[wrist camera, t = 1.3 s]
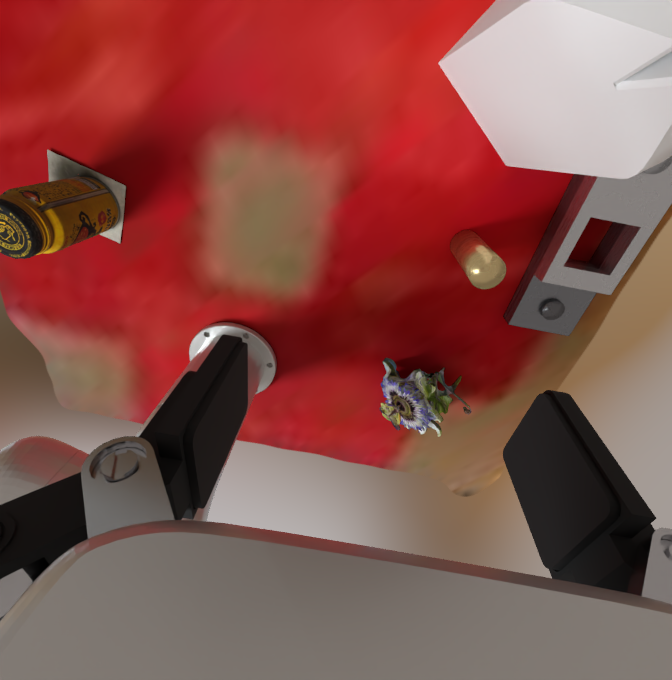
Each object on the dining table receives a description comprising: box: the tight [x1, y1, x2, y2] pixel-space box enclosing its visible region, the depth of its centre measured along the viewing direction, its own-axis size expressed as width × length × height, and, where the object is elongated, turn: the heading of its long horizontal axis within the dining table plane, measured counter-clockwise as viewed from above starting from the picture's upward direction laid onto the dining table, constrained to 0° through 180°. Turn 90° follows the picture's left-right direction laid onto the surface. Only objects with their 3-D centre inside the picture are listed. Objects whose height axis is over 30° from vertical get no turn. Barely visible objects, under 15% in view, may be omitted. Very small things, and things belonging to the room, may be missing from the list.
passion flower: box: [380, 358, 471, 436], centre depth 46 cm, size 11×11×12 cm
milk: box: [438, 0, 672, 179], centre depth 19 cm, size 12×12×26 cm
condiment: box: [0, 150, 126, 259], centre depth 35 cm, size 7×8×12 cm
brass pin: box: [450, 230, 506, 289], centre depth 35 cm, size 3×3×9 cm
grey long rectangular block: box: [503, 156, 672, 336], centre depth 36 cm, size 22×8×5 cm, turn 170°
